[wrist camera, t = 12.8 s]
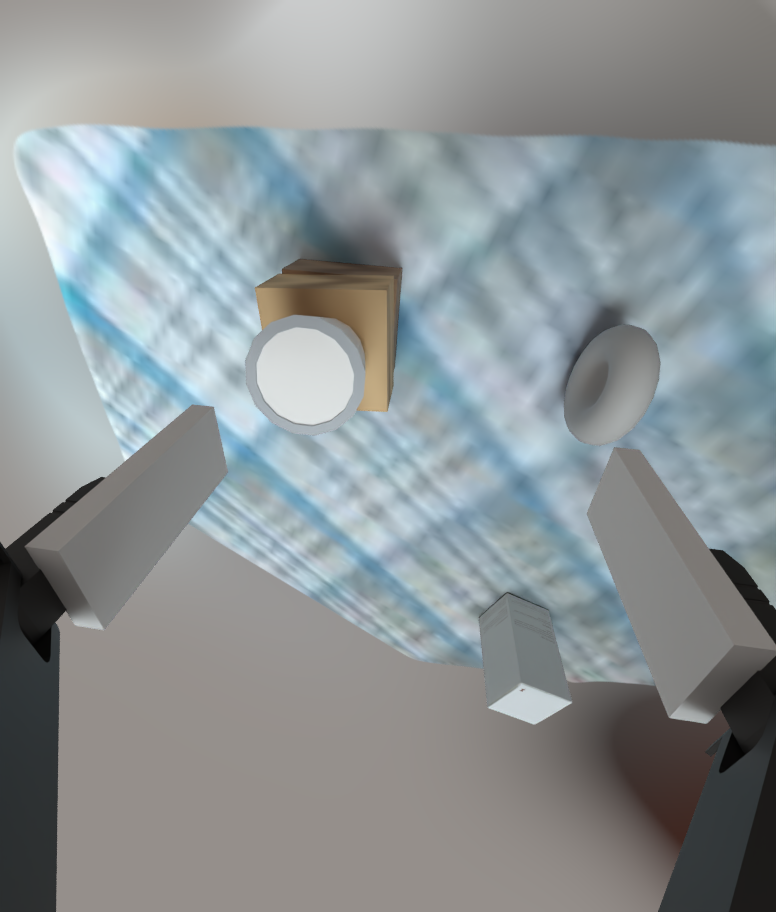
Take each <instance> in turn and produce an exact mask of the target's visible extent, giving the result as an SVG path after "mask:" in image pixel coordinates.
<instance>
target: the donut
mask: <svg viewBox="0 0 776 912" xmlns="http://www.w3.org/2000/svg"><path fill="white" fill-rule="evenodd" d="M659 373H660V358H659V352H658V348H657V344H656V343H655V341H654V340H653V338H652V337H651V336H650V334H649V333H648V332H647V331H646V330H644V329H642V328H639V327H636V326H632V325H625V324H623V325H619V326H616V327H612V328H609V329H606V330H605V331H603V332H602V333H600V334H599V335H598V336H597V337H595V338H594V339H593V340H592V341H591V342H590V343H589V344H588V346H587V347H586V348H585V349H584V351H583V352H582V354H581V355H580V357H579V359H578V360H577V362H576V364H575V366H574V368H573V370H572V373H571V375H570V377H569V381H568V384H567V388H566V392H565V399H564V418H565V421H566V424H567V427H568V429H569V431H570V432H571V433H572V434H573V435H574V437H575V438H577V439H578V440H579V441H580V442H583V443H586V444H590V445H597V446H601V445H605V444H608V443H611V442H614V441H617V440H619V439H620V438H622V437H623V436H624V435H625V434H627V433H628V432H629V431H631V430H632V429H633V428H634V427H635V426H636V424H637V423H638V422H639V421H640V420H641V418H642V417H643V416H644V414H645V412H646V411H647V409H648V407H649V405H650V403H651V401H652V399H653V397H654V394H655V390H656V387H657V384H658V381H659Z"/></svg>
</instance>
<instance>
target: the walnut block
mask: <svg viewBox="0 0 776 912" xmlns="http://www.w3.org/2000/svg"><path fill="white" fill-rule="evenodd" d="M282 274H320V275H382V276H394V367H393V372H394V368H395V357H396V344H397V331H398V318H399V305H400V292H401V280H402V268H395V267H384V266H373V265H362V264H351V263H339V262H328V261H317V260H306V259H299V260H297V261H295V262H293V263H291V264H290V265H288V266H286V267H284V268H283V269H282Z"/></svg>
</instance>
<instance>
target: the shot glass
mask: <svg viewBox="0 0 776 912" xmlns="http://www.w3.org/2000/svg"><path fill="white" fill-rule="evenodd" d="M245 366H246V385H247V387H248V389H249V392H250V394H251V396H252V398H253V401H254V403H255V405H256V407H257V408H258V409H259V410H260V411H261V412H262V413H263V414H264V415H265V416H266V417H267V418H268V419H269V420H270V421H271V422H272V423H273V424H275V425H277V426H279V427H281V428H283V429H285V430H287V431H289V432H291V433H296V434H305V435H319V434H323V433H326V432H330V431H333V430H337V429H338V428H339V427H340V426H342V425H343V424H344V423H345V422H347V421H348V420H349V419H350V418H352V417H353V416H354V414H355V412H356V410H357V408H358V406H359V404H360V402H361V401H362V399H363V397H364V386H365V353H364V350H363V347H362V344H361V340H360V338H359V337H358V336H357V335H356V333H355V332H354V331H353V330H352V329H351V327H350V326H348V325H346V324H344V323H343V322H341V321H339V320H337V319H335V318H326V317H315V316H303V315H292V316H289V317H285V318H282V319H279V320H276V321H273V322H271V323H270V324H269V325H267V326H266V327H265V328H264V329H263V330H262V331H261V332H260V333H259V334H258V335H257V336H256V337H255V338H254V339H253V342H252V344H251V347H250V350H249V352H248V355H247V357H246V360H245Z"/></svg>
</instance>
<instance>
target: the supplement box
mask: <svg viewBox="0 0 776 912" xmlns="http://www.w3.org/2000/svg"><path fill="white" fill-rule="evenodd" d="M479 626H480V636H481V646H482V656H483V667H484V677H485V687H486V697H487V707H488V708H490V709H493V710H495V711H498V712H501V713H504V714H507V715H509V716H512V717H515V718H518V719H520V720H523V721H526V722H529V723H531V724H536V723H538V722H540V721H542V720H544V719H545V718H547V717H549V716H551V715H552V714H554V713H555V712H557V711H559V710H560V709H562V708H564V707H566V706H567V705H569V704H571V703H572V699H571V696H570V692H569V688H568V684H567V680H566V676H565V673H564V669H563V665H562V661H561V657H560V653H559V649H558V645H557V642H556V638H555V634H554V630H553V626H552V622H551V618H550V615H549V611H548V610H546V609H544V608H541V607H539V606H537V605H534V604H532V603H530V602H527V601H525V600H522V599H520V598H518V597H515V596H513V595H511V594H508V593H506V594H505V595H504V596H503V597H502V598H501V599H500V600H498V601H497V602H496V603H495V604H494V605H493V606H491V607H490V608H489V609H488V610H487V611H486V612H485V613H484V614H483V615H481V617H480V618H479Z"/></svg>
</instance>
